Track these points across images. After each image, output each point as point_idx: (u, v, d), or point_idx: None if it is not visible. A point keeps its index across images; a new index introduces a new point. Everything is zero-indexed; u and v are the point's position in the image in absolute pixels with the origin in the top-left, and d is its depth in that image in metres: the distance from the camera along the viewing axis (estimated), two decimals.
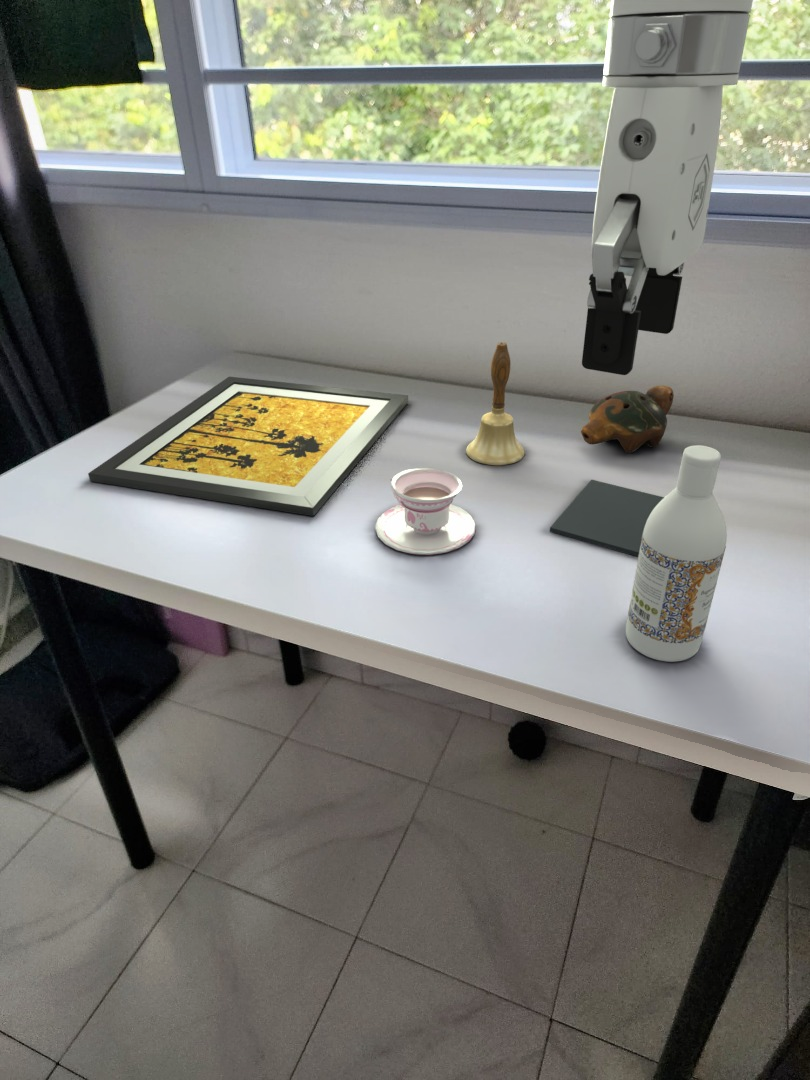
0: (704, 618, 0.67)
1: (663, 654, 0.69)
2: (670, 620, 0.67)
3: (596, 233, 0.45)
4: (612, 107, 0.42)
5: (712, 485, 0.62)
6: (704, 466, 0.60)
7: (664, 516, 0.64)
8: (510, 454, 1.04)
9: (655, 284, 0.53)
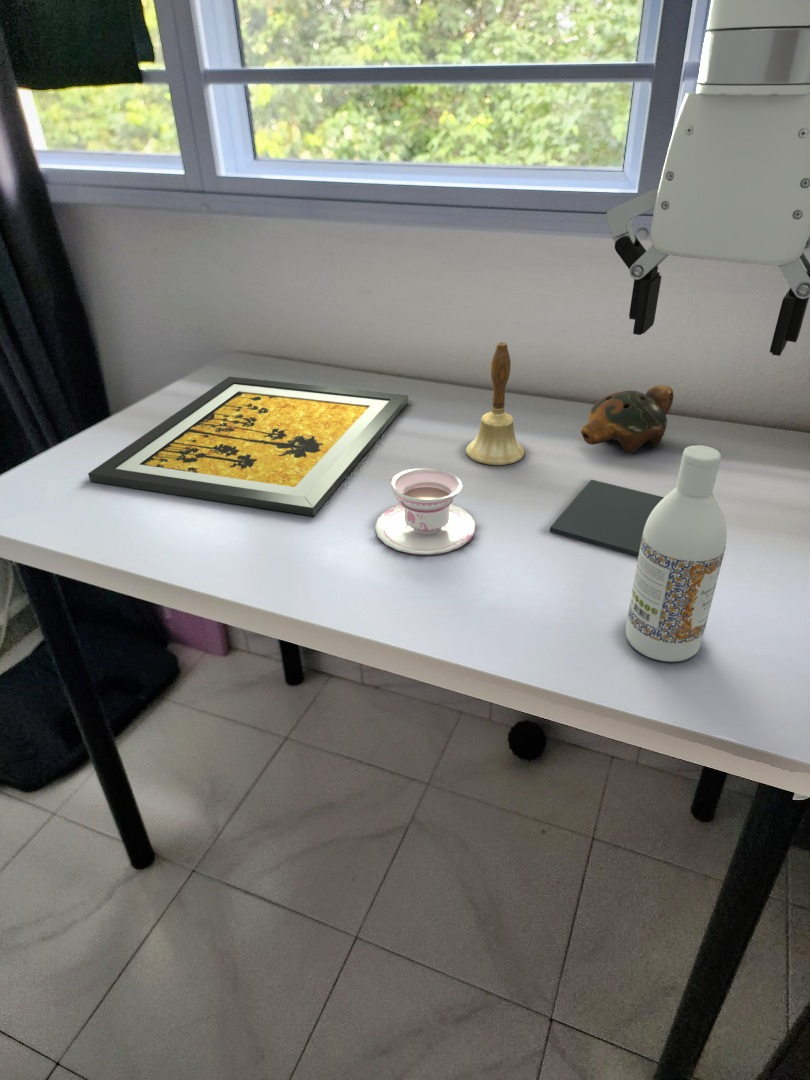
0: (704, 618, 0.67)
1: (663, 654, 0.69)
2: (670, 620, 0.67)
3: (808, 230, 0.48)
4: None
5: (712, 485, 0.62)
6: (704, 466, 0.60)
7: (664, 516, 0.64)
8: (510, 454, 1.04)
9: (655, 285, 0.56)
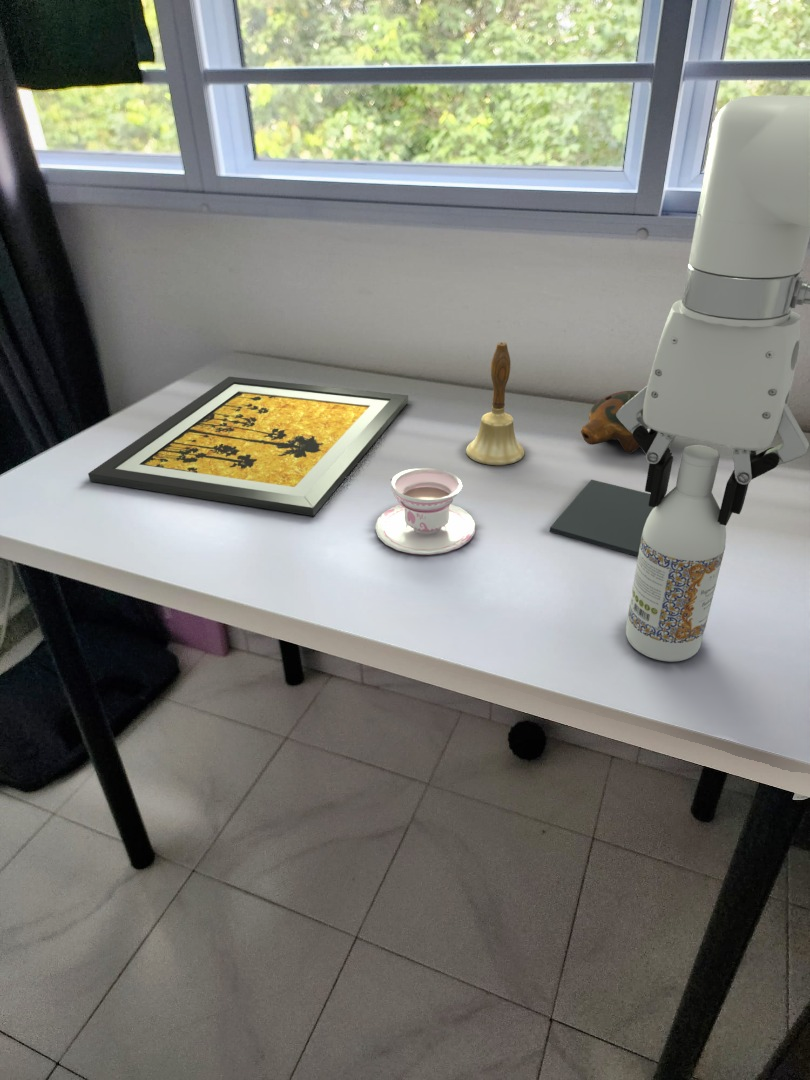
0: (704, 618, 0.67)
1: (663, 654, 0.69)
2: (670, 619, 0.67)
3: (776, 427, 0.56)
4: (785, 340, 0.53)
5: (711, 485, 0.62)
6: (703, 466, 0.60)
7: (663, 516, 0.64)
8: (510, 454, 1.04)
9: (668, 466, 0.63)
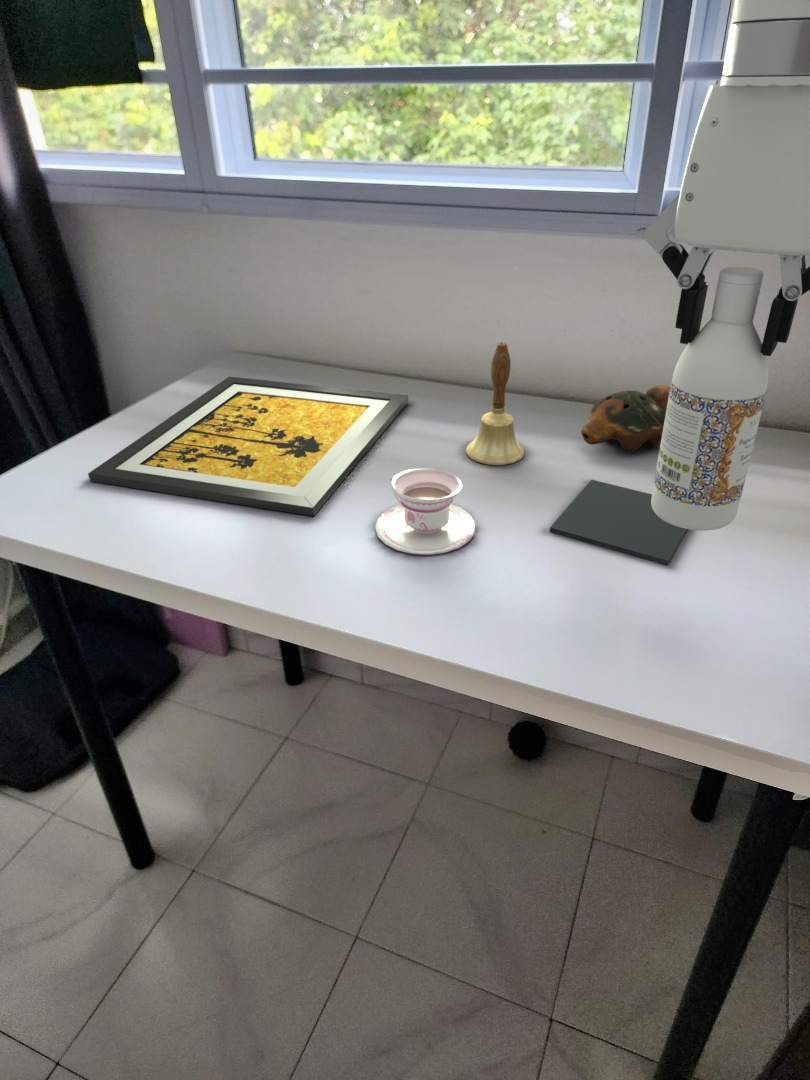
0: (742, 477, 0.60)
1: (695, 521, 0.61)
2: (704, 477, 0.59)
3: None
4: None
5: (753, 309, 0.54)
6: (745, 283, 0.53)
7: (697, 351, 0.56)
8: (510, 454, 1.04)
9: (702, 294, 0.56)
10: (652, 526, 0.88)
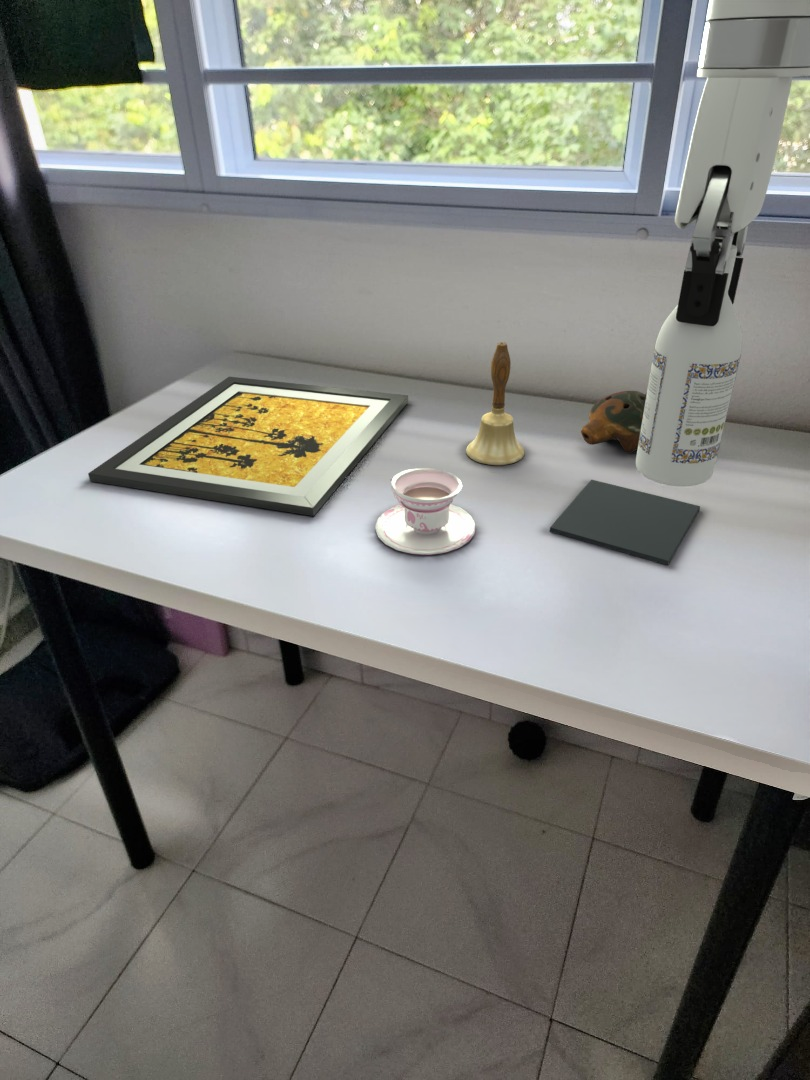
0: None
1: None
2: (724, 424, 0.66)
3: None
4: None
5: None
6: None
7: (726, 324, 0.60)
8: (510, 454, 1.04)
9: None
10: (652, 526, 0.88)
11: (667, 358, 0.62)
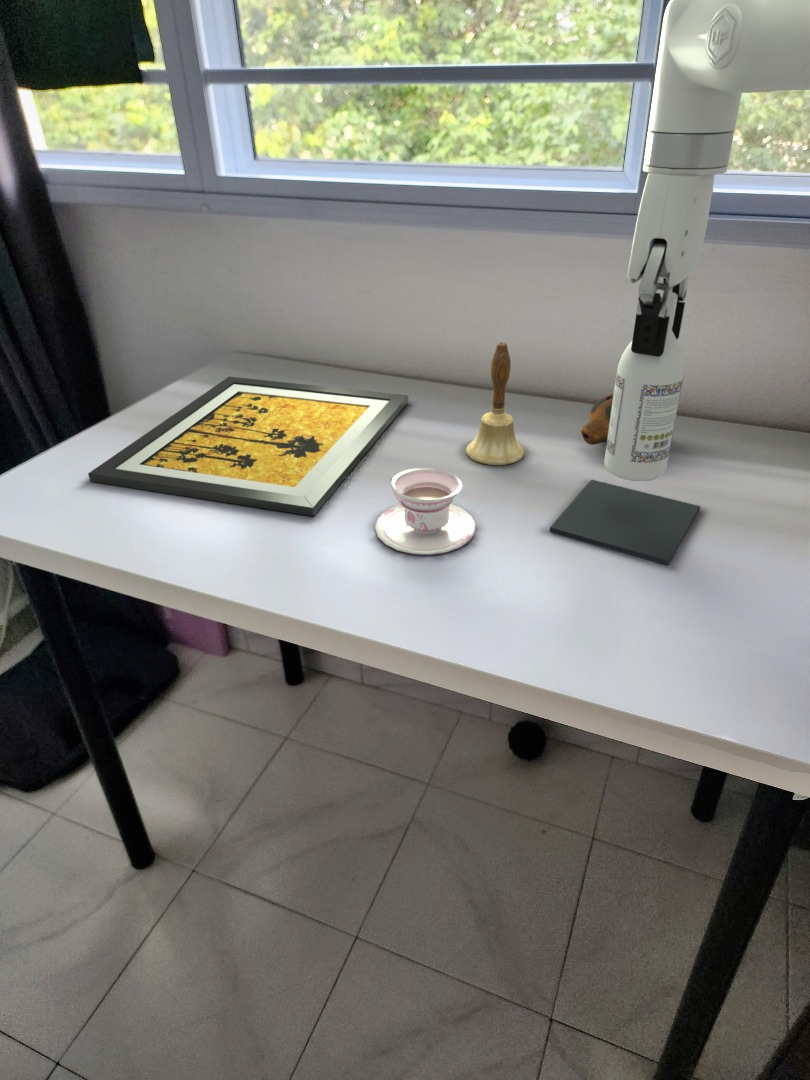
0: None
1: None
2: None
3: None
4: None
5: None
6: None
7: (670, 354, 0.77)
8: (510, 454, 1.04)
9: None
10: (652, 526, 0.88)
11: (625, 380, 0.79)
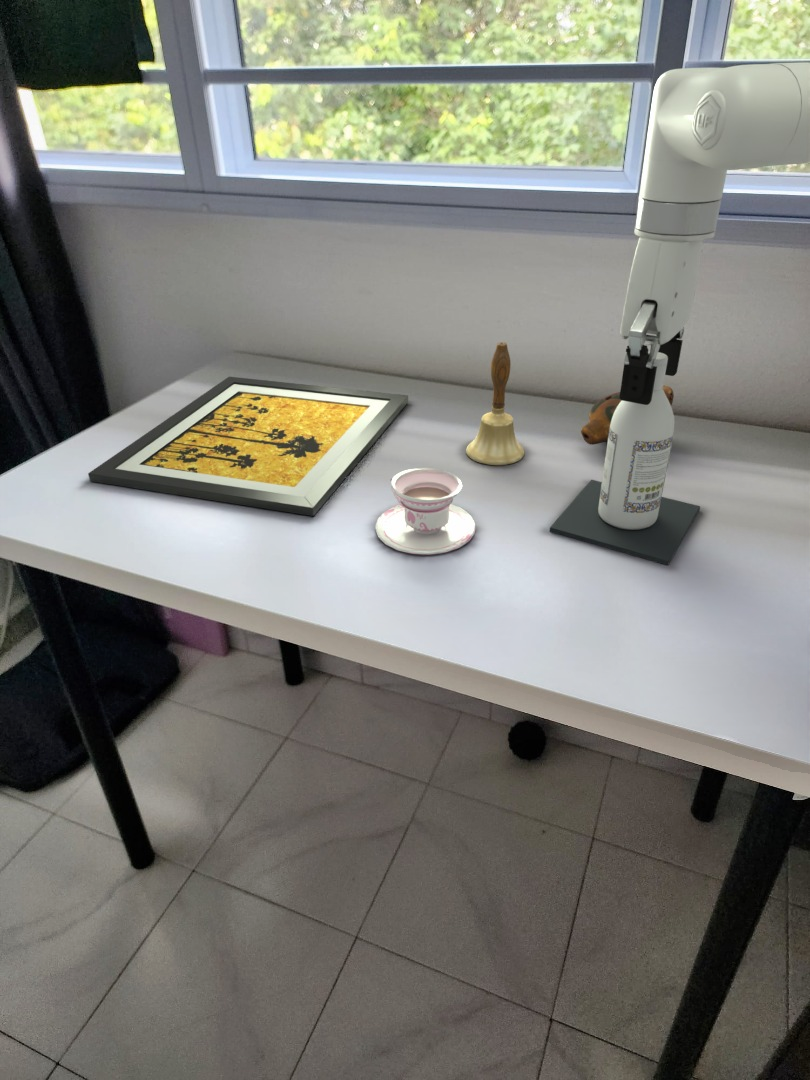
0: None
1: None
2: None
3: None
4: None
5: None
6: None
7: (660, 412, 0.81)
8: (510, 454, 1.04)
9: None
10: (652, 526, 0.88)
11: (618, 435, 0.83)
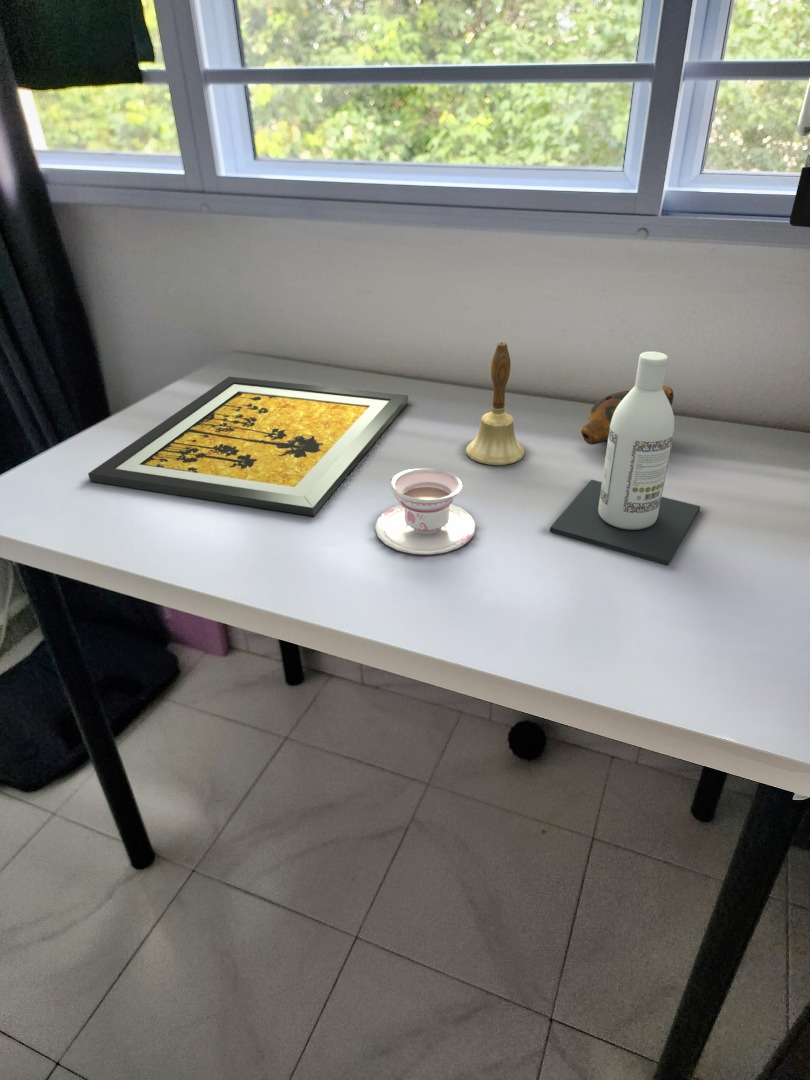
0: None
1: None
2: None
3: None
4: None
5: None
6: None
7: (660, 412, 0.81)
8: (510, 454, 1.04)
9: None
10: (652, 526, 0.88)
11: (618, 435, 0.83)
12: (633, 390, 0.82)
